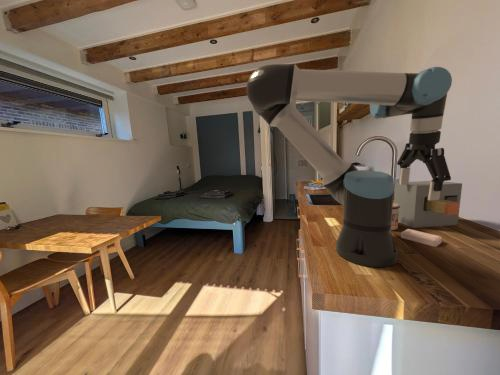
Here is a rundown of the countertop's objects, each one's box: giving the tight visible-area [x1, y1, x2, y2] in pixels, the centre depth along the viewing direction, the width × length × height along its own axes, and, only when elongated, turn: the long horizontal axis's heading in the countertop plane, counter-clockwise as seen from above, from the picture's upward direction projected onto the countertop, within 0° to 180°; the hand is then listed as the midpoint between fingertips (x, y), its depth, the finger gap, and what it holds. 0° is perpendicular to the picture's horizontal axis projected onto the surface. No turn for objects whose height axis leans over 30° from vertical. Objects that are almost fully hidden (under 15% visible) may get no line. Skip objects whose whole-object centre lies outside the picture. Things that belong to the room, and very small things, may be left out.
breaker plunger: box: [424, 197, 461, 215], centre depth 71 cm, size 4×10×4 cm, turn 4°
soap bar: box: [400, 228, 443, 248], centre depth 65 cm, size 5×9×2 cm, turn 32°
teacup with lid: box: [391, 201, 400, 231], centre depth 78 cm, size 12×9×12 cm
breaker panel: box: [393, 180, 463, 229], centre depth 79 cm, size 18×10×16 cm, turn 94°
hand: (417, 192), depth 70 cm, fingers open, 14 cm apart
